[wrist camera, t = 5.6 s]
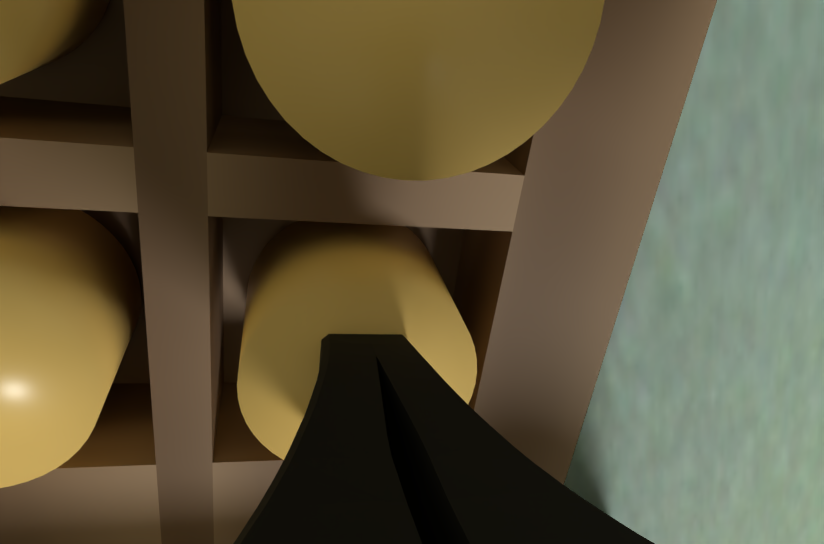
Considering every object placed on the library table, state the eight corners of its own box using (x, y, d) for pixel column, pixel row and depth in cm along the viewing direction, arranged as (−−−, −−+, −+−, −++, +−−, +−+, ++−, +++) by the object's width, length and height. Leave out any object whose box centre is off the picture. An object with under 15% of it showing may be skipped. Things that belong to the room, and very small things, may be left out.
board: (697, -310, 10) (846, -407, 7) (507, 442, 17) (548, 531, 14) (-619, -681, 6) (-1250, -1131, 4) (-179, 465, 13) (-293, 588, 11)
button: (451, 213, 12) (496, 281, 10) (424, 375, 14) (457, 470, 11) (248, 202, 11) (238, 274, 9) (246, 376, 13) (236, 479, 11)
